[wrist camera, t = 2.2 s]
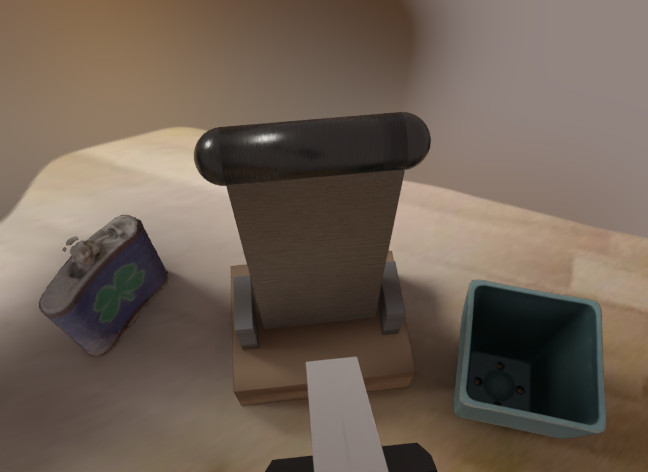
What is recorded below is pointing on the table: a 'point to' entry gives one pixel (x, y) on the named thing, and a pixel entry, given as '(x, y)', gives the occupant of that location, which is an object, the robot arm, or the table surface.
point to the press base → (316, 344)
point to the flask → (104, 284)
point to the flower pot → (531, 361)
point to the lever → (315, 208)
